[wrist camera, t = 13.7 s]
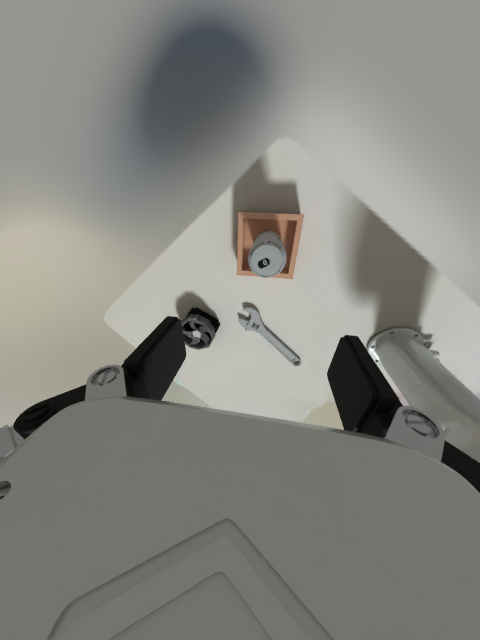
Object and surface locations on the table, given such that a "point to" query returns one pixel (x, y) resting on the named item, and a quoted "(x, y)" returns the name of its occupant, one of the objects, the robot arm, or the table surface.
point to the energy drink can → (267, 254)
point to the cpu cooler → (199, 329)
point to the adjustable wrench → (266, 333)
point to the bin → (263, 221)
